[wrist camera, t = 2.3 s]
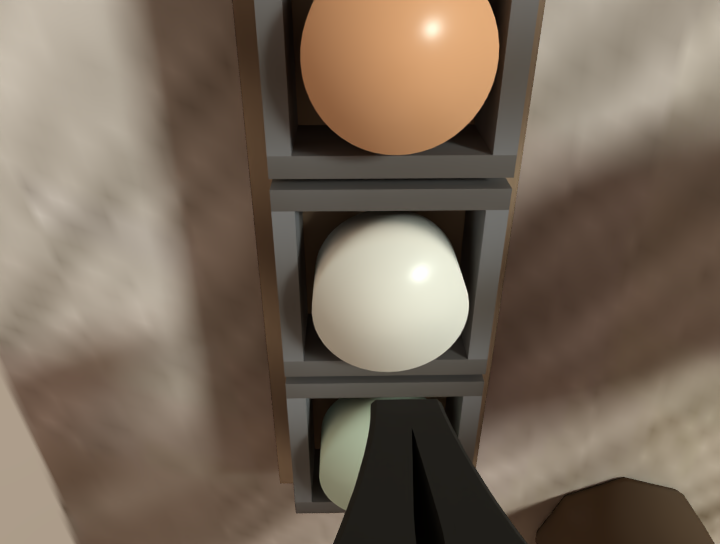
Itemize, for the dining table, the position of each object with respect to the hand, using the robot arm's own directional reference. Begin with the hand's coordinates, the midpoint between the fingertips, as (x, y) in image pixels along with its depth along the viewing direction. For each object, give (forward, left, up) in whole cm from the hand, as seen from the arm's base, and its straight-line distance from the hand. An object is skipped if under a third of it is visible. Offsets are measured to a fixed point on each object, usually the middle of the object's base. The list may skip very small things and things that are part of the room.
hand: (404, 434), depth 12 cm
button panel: (0, 0, -9) cm, 9 cm away
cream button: (0, 0, -6) cm, 6 cm away
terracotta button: (+5, -4, -6) cm, 9 cm away
